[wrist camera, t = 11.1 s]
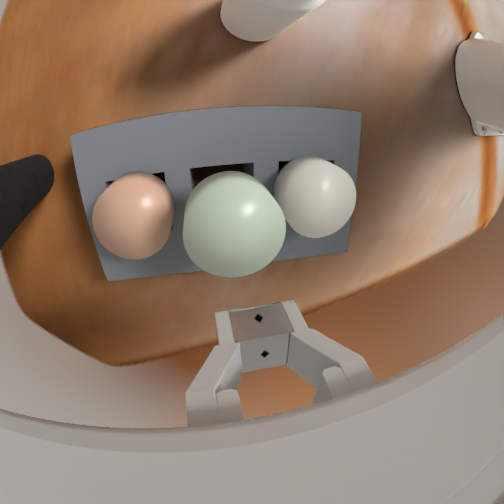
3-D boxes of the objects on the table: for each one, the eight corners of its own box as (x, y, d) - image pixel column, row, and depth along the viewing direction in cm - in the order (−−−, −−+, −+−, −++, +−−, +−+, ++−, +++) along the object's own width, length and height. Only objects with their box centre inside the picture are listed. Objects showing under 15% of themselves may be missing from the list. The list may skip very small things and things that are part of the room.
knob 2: (316, 144, 26) (360, 164, 19) (313, 198, 29) (351, 234, 22) (258, 145, 25) (285, 164, 18) (259, 202, 28) (283, 242, 21)
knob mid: (256, 152, 22) (287, 180, 14) (257, 217, 25) (284, 271, 18) (183, 159, 21) (175, 191, 14) (191, 224, 24) (190, 283, 17)
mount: (331, 108, 25) (361, 112, 19) (323, 226, 32) (346, 251, 27) (95, 127, 21) (69, 135, 16) (120, 249, 28) (107, 281, 23)
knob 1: (175, 153, 24) (164, 175, 16) (182, 210, 27) (177, 254, 20) (115, 163, 23) (83, 190, 16) (126, 218, 26) (104, 263, 19)
